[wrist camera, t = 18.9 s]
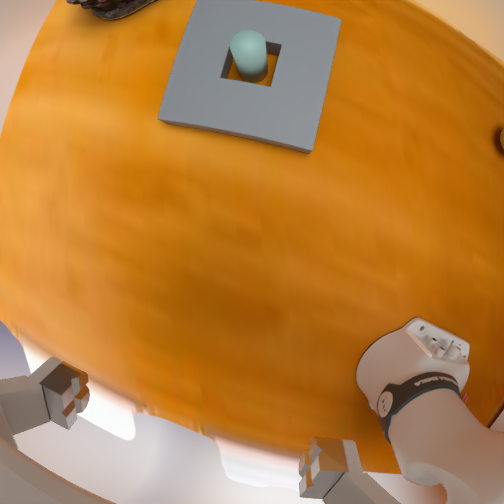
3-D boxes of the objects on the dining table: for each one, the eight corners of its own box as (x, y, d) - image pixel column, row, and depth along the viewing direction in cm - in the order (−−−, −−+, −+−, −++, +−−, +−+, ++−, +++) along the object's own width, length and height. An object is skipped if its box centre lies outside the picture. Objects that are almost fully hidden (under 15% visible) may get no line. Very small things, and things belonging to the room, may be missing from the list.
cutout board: (336, 31, 34) (341, 19, 31) (308, 153, 39) (312, 150, 35) (204, 8, 35) (198, -5, 31) (167, 124, 39) (157, 118, 36)
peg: (270, 60, 36) (269, 33, 28) (264, 85, 37) (261, 61, 29) (242, 55, 37) (234, 27, 28) (235, 80, 37) (225, 55, 29)
